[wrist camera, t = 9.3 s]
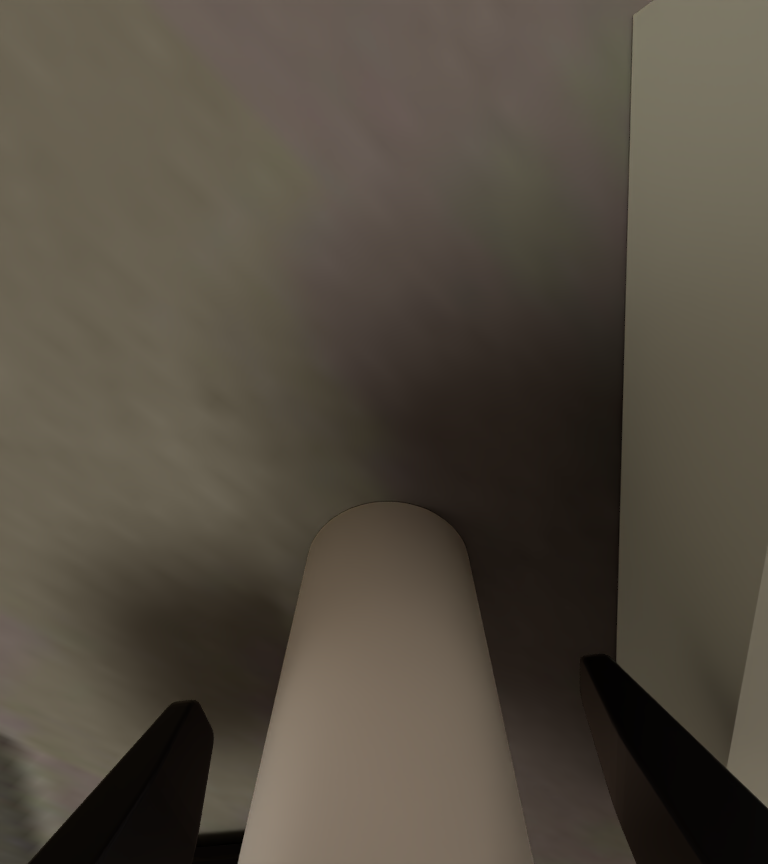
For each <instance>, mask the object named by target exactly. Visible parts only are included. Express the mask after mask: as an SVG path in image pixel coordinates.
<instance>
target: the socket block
mask: <svg viewBox="0 0 768 864" xmlns="http://www.w3.org/2000/svg"><path fill="white" fill-rule="evenodd" d="M616 663H617V664H618V665H619V666H620V667H621V668H622V669H623V670H624V671H625V672H627V673H628V674H629V675H630V676H631V677H632V678H633V679H634V680H635V681H636V682H637V683H638V684H639V685H640V686H641V687H642V688H643V689H644V690H645V691H646V692H647V693H648V694H649V695H651V696H652V697H653V698H654V699H655V700H656V701H657V702H658V703H659V704H660V705H661V706H662V707H663V708H664V709H665V710H666V711H667V712H668V713H669V714H670V715H671V716H672V717H673V718H675V719H676V720H677V721H678V722H679V723H680V724H681V725H682V726H683V727H684V728H685V729H686V730H687V731H688V732H689V733H690V734H691V735H692V736H693V737H694V738H695V739H696V740H697V741H699V742H700V743H701V744H702V745H703V746H704V747H705V748H706V749H707V750H708V751H709V752H710V753H711V754H712V755H713V756H714V757H715V758H716V759H717V760H718V761H719V762H720V763H721V764H723V765H724V766H725V767H726V768H727V769H728V770H729V771H730V772H731V773H732V774H733V775H734V776H735V777H736V778H737V779H738V780H739V781H740V782H741V783H742V784H743V785H744V786H745V787H746V788H748V789H749V790H750V791H751V792H752V793H753V794H754V795H755V796H756V797H757V798H758V799H759V800H760V801H761V802H762V803H763V804H764V805H765V806H766V807H767V808H768V0H654V1H652V2H651V3H649V4H648V5H647V6H645V7H644V8H643V9H641V10H640V11H638V12H637V13H636V14H634V15H633V41H632V79H631V117H630V154H629V192H628V230H627V268H626V306H625V344H624V382H623V420H622V458H621V496H620V534H619V572H618V610H617V648H616Z"/></svg>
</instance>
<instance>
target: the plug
mask: <svg viewBox="0 0 768 864" xmlns="http://www.w3.org/2000/svg"><path fill="white" fill-rule="evenodd" d="M238 864H534V861H533V856H532V852H531V847H530V842H529V838H528V833H527V828H526V824H525V819H524V814H523V810H522V805H521V800H520V796H519V791H518V786H517V781H516V777H515V772H514V767H513V763H512V758H511V753H510V749H509V744H508V739H507V735H506V730H505V725H504V721H503V716H502V711H501V707H500V702H499V697H498V693H497V688H496V683H495V679H494V674H493V669H492V665H491V660H490V655H489V650H488V646H487V641H486V636H485V632H484V627H483V622H482V618H481V613H480V608H479V604H478V599H477V594H476V590H475V585H474V580H473V576H472V571H471V566H470V562H469V557H468V552H467V549H466V547H465V544H464V542H463V540H462V539H461V537H460V535H459V534H458V533H457V531H456V530H455V529H454V528H453V527H452V526H451V525H450V524H449V523H448V522H447V521H446V520H444V519H443V518H441V517H440V516H438V515H437V514H435V513H433V512H431V511H429V510H427V509H424V508H422V507H419V506H415V505H411V504H407V503H401V502H374V503H368V504H363V505H360V506H357V507H354V508H351V509H349V510H346V511H344V512H342V513H340V514H339V515H337V516H336V517H334V518H333V519H331V520H330V521H329V522H328V523H326V524H325V525H324V526H323V528H322V529H321V530H320V531H319V532H318V533H317V535H316V536H315V538H314V540H313V542H312V544H311V546H310V549H309V552H308V556H307V560H306V565H305V569H304V574H303V578H302V582H301V587H300V591H299V596H298V600H297V604H296V609H295V613H294V618H293V622H292V626H291V631H290V635H289V640H288V644H287V648H286V653H285V657H284V662H283V666H282V670H281V675H280V679H279V684H278V688H277V692H276V697H275V701H274V706H273V710H272V714H271V719H270V723H269V728H268V732H267V736H266V741H265V745H264V750H263V754H262V758H261V763H260V767H259V772H258V776H257V780H256V785H255V789H254V794H253V798H252V802H251V807H250V811H249V815H248V820H247V824H246V829H245V833H244V837H243V842H242V846H241V851H240V855H239V859H238Z"/></svg>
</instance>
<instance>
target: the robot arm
mask: <svg viewBox="0 0 768 864" xmlns="http://www.w3.org/2000/svg"><path fill="white" fill-rule="evenodd" d="M580 693H581V699H582V703H583V707H584V710H585V713H586V717H587V720H588V723H589V727H590V730H591V733H592V737H593V740H594V743H595V747H596V750H597V753H598V756H599V760H600V763H601V766H602V770H603V773H604V776H605V780H606V783H607V786H608V790H609V793H610V796H611V799H612V802H613V805H614V808H615V811H616V814H617V816H618V819H619V822H620V824H621V827H622V830H623V832H624V834H625V837H626V839H627V842H628V844H629V847H630V849H631V851H632V854H633V856H634V859H635V861H636V864H768V808H767V807H766V806H765V805H764V804H763V803H762V802H761V801H760V800H759V799H758V798H757V797H756V796H755V795H754V794H753V793H752V792H751V791H750V790H749V789H748V788H746V787H745V786H744V785H743V784H742V783H741V782H740V781H739V780H738V779H737V778H736V777H735V776H734V775H733V774H732V773H731V772H730V771H729V770H728V769H727V768H726V767H725V766H724V765H723V764H721V763H720V762H719V761H718V760H717V759H716V758H715V757H714V756H713V755H712V754H711V753H710V752H709V751H708V750H707V749H706V748H705V747H704V746H703V745H702V744H701V743H700V742H699V741H697V740H696V739H695V738H694V737H693V736H692V735H691V734H690V733H689V732H688V731H687V730H686V729H685V728H684V727H683V726H682V725H681V724H680V723H679V722H678V721H677V720H676V719H675V718H673V717H672V716H671V715H670V714H669V713H668V712H667V711H666V710H665V709H664V708H663V707H662V706H661V705H660V704H659V703H658V702H657V701H656V700H655V699H654V698H653V697H652V696H651V695H649V694H648V693H647V692H646V691H645V690H644V689H643V688H642V687H641V686H640V685H639V684H638V683H637V682H636V681H635V680H634V679H633V678H632V677H631V676H630V675H629V674H628V673H627V672H625V671H624V670H623V669H622V668H621V667H620V666H619V665H618V664H617V663H616V662H615V661H614V660H613V659H612V658H611V657H610V656H608V655H606V654H602V653H601V654H592V655H584V656H582V657H581V659H580ZM213 741H214V737H213V730H212V727H211V725H210V723H209V721H208V719H207V717H206V715H205V713H204V711H203V709H202V707H201V705H200V704H199V702H198V701H196V700H186V701H178V702H174V703H172V704H171V705H170V706H169V707H168V708H167V709H166V710H165V711H164V712H163V713H162V714H161V715H160V716H159V718H158V719H157V720H156V721H155V722H154V723H153V724H152V725H151V726H150V728H149V729H148V730H147V731H146V732H145V733H144V734H143V735H142V737H141V738H140V739H139V740H138V741H137V742H136V743H135V744H134V745H133V747H132V748H131V749H130V750H129V751H128V752H127V753H126V754H125V756H124V757H123V758H122V759H121V760H120V761H119V762H118V763H117V765H116V766H115V767H114V768H113V769H112V770H111V771H110V772H109V773H108V775H107V776H106V777H105V778H104V779H103V780H102V781H101V782H100V784H99V785H98V786H97V787H96V788H95V789H94V790H93V791H92V792H91V794H90V795H89V796H88V797H87V798H86V799H85V800H84V801H83V803H82V804H81V805H80V806H79V807H78V808H77V809H76V810H75V811H74V813H73V814H72V815H71V816H70V817H69V818H68V819H67V820H66V822H65V823H64V824H63V825H62V826H61V827H60V828H59V829H58V831H57V832H56V833H55V834H54V835H53V836H52V837H51V838H50V839H49V841H48V842H47V843H46V844H45V845H44V846H43V847H42V848H41V850H40V851H39V852H38V853H37V854H36V855H35V856H34V857H33V858H32V860H31V861H30V862H29V863H28V864H238V859H239V855H240V851H241V846H242V843H241V844H229V845H218V846H206V847H196V843H197V838H198V833H199V827H200V821H201V815H202V809H203V803H204V797H205V791H206V785H207V779H208V773H209V767H210V761H211V755H212V749H213Z"/></svg>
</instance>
